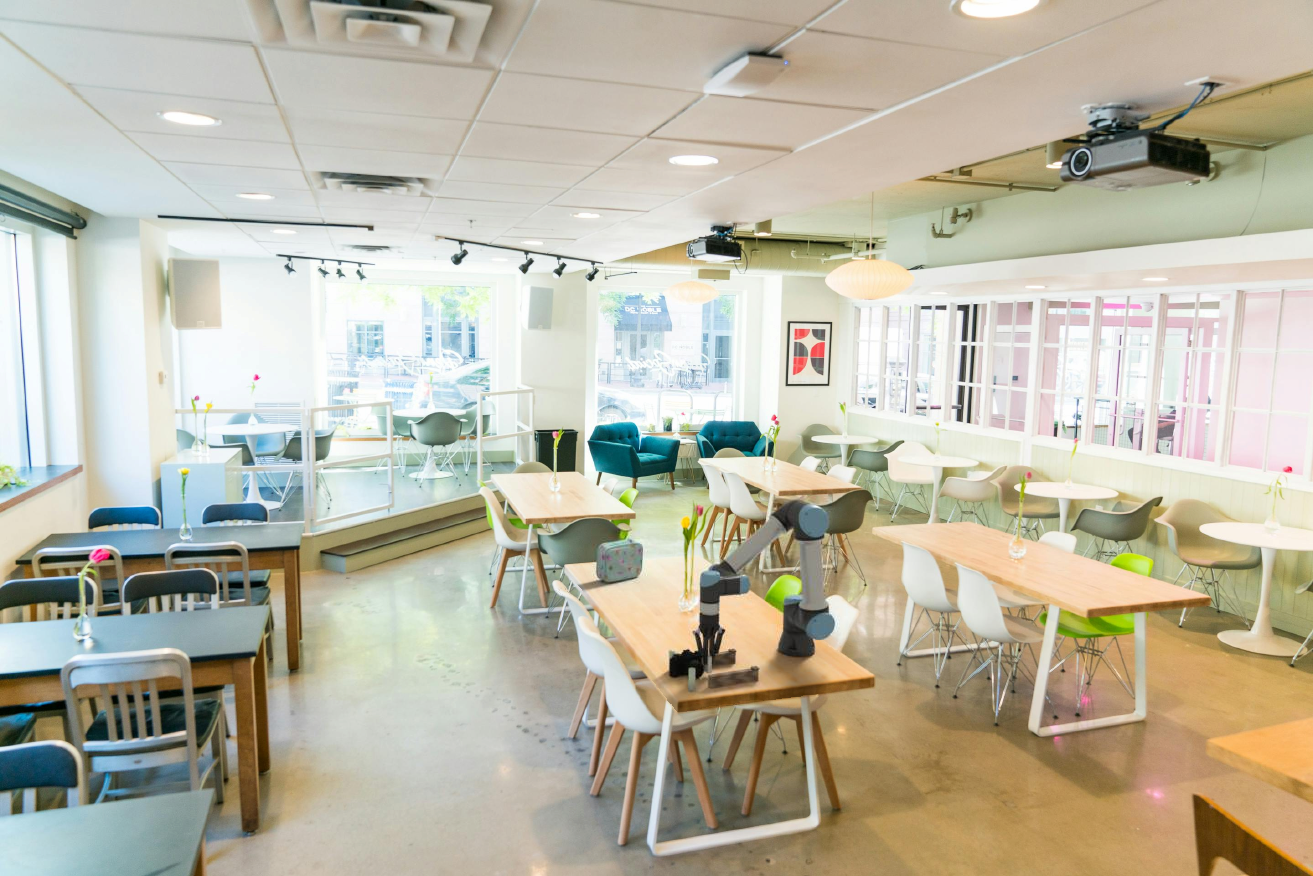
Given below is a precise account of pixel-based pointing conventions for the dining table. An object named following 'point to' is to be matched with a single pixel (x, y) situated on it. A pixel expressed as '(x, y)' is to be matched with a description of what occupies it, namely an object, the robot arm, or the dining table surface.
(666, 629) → the dining table surface
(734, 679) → the chute
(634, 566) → the lunch box
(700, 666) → the film camera
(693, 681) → the posts
